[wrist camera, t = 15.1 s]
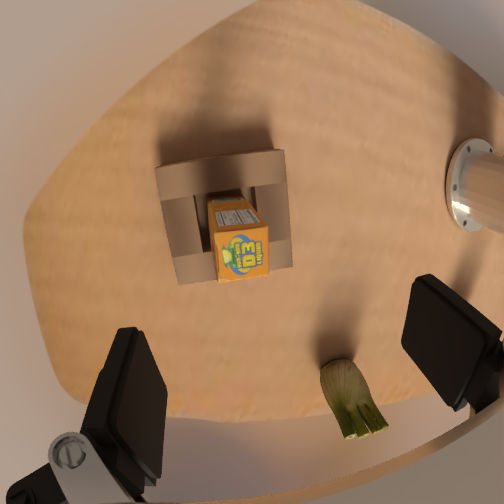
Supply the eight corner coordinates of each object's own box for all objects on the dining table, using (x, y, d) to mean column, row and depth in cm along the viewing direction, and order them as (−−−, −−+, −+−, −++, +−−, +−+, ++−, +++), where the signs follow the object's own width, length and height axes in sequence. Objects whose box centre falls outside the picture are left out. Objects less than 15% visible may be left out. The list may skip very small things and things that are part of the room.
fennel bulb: (308, 373, 36) (340, 445, 25) (333, 347, 35) (373, 417, 24) (337, 383, 38) (370, 447, 27) (360, 359, 37) (400, 422, 26)
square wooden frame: (272, 148, 25) (284, 149, 22) (281, 250, 29) (292, 266, 26) (162, 164, 24) (154, 168, 21) (181, 266, 28) (178, 285, 25)
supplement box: (248, 228, 26) (270, 281, 17) (209, 232, 26) (211, 286, 17) (246, 192, 25) (270, 226, 16) (206, 195, 25) (205, 231, 15)
